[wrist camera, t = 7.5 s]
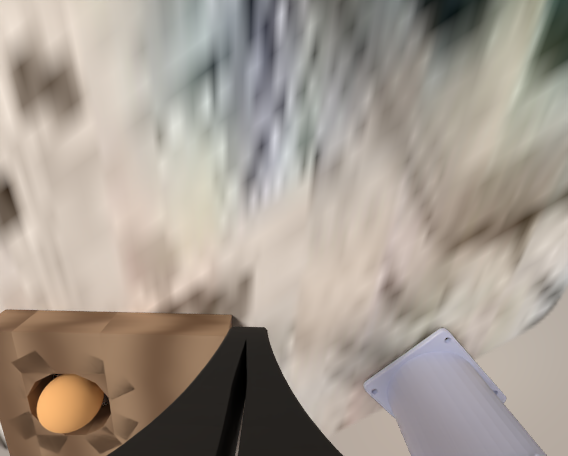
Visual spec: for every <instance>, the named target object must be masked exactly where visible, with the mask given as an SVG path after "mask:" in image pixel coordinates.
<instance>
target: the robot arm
mask: <svg viewBox="0 0 568 456" xmlns="http://www.w3.org/2000/svg"><path fill="white" fill-rule="evenodd" d="M446 338H448V339H447V340H445V339H446ZM364 389H365V391H366V392H367V393H368V394H369V395H370V396H372V397H373V398H374V399H375V400H376V401H377V402H378V403H379V404H380V405H381V406H382V407H383V408H384V409H385V410H386V411H388V413H390V414H391V415H392V416H393V417H394V418H395V419H396V421H397V423H398V426H399V428H400V430H401V433H402V435H403V437H404V440H405V442H406V444H407V446H408V449H409V452H410V454H411V456H547V455H546V454H545V453H544V452H543V450H542V449H541V448H540V447H539V446H538V444H537V443H536V442H535V441H534V440H533V439H532V437H531V436H530V435H529V434H528V432H527V431H526V430H525V429H524V428H523V427H522V425H521V424H520V423H519V422H518V420H517V419H516V418H515V417H514V416H513V414H512V413H511V412H510V411H509V410H508V409H507V407H506V406H505V405H504V404H503V403H504V402H505V401H506V396H505V395H504V394H503V393H502V392H501V391H500V389H499V388H498V387H497V386H496V385H495V384H494V382H493V381H492V380H491V379H490V378H489V377H488V376H487V374H486V373H485V372H484V371H483V370H482V369H481V368H480V366H479V365H478V364H477V363H476V362H475V361H474V360H473V358H472V357H471V356H470V355H469V354H468V353H467V352H466V350H465V349H464V348H463V347H462V346H461V345H460V344H459V342H458V341H457V340H456V339H455V338H454V337H453V336H452V334H451V333H450V332H449V331H448V330H447V329H446V328H440V329H438V330H437V331H436V332H434V333H433V334H431V335H430V336H429V337H427V338H426V339H424V340H423V341H422V342H420V343H419V344H417V345H416V346H415V347H413V348H412V349H410V350H409V351H407V352H406V353H405V354H403V355H402V356H400V357H399V358H398V359H396V360H395V361H393V362H392V363H391V364H389V365H388V366H386V367H385V368H384V369H382V370H381V371H379V372H378V373H377V374H375V375H374V376H372V377H371V378H370V379H368V380H367V381H366V382H365V383H364ZM373 389H375V390H373ZM244 403H245V407H244ZM243 408H244V415H243V423H242V430H241V437H240V444H239V452H238V456H343V455H342V454H341V453H340V452H339V451H338V450H337V449H336V448H335V447H334V446H333V445H332V444H331V442H330V441H329V440H328V439H327V438H326V437H325V436H324V434H323V433H322V432H321V431H320V429H319V428H318V427H317V426H316V425H315V423H314V422H313V421H312V420H311V418H310V417H309V416H308V414H307V413H306V412H305V410H304V409H303V407H302V406H301V405H300V403H299V401H298V400H297V398H296V397H295V395H294V394H293V392H292V390H291V389H290V387H289V385H288V383H287V381H286V380H285V378H284V376H283V374H282V372H281V370H280V368H279V365H278V363H277V361H276V359H275V356H274V354H273V351H272V348H271V345H270V342H269V338H268V333H267V330H266V328H264V327H231V328H230V329H229V331H228V333H227V335H226V336H225V338H224V340H223V341H222V343H221V344H220V346H219V348H218V349H217V351H216V352H215V353H214V355H213V356H212V357H211V359H210V360H209V362H208V363H207V364H206V366H205V367H204V368H203V369H202V371H201V372H200V373H199V374H198V375H197V377H196V378H195V379H194V380H193V382H192V383H191V384H190V385H189V386H188V387H187V388H186V389H185V390H184V391H183V393H182V394H181V395H180V396H179V397H178V398H177V399H176V400H175V401H174V402H173V403H172V404H171V405H169V406H168V407H167V408H166V409H165V410H164V411H163V412H162V413H161V414H160V415H159V416H158V417H156V418H155V419H154V420H153V421H152V422H151V423H149V424H148V425H147V426H146V427H145V428H143V429H142V430H141V431H139V432H138V433H137V434H136V435H134V436H133V437H132V438H130V439H129V440H128V441H127V442H125V443H124V444H123V445H121V446H120V447H118V448H117V449H116V450H114V451H113V452H111V453H110V454H108V455H107V456H235V452H236V446H237V441H238V436H239V430H240V425H241V419H242V414H243Z"/></svg>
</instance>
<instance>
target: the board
mask: <svg viewBox="0 0 568 456" xmlns="http://www.w3.org/2000/svg"><path fill="white" fill-rule="evenodd" d="M231 327H232V315H214V314H171V313H127V312H84V311H41V310H5V311H3V312H2V313H0V422H1V425H2V429H3V432H4V436H5V439H6V443H7V446H8V450H9V453H10V456H107V455H108V454H110V453H111V452H113V451H114V450H116V449H117V448H118V447H120V446H121V445H123V444H124V443H125V442H127V441H128V440H129V439H130V438H132V437H133V436H134V435H136V434H137V433H138V432H139V431H141V430H142V429H143V428H145V427H146V426H147V425H148V424H149V423H151V422H152V421H153V420H154V419H155V418H156V417H158V416H159V415H160V414H161V413H162V412H163V411H164V410H165V409H166V408H167V407H168V406H169V405H171V404H172V403H173V402H174V401H175V400H176V399H177V398H178V397H179V396H180V395H181V394H182V393H183V391H184V390H185V389H186V388H187V387H188V386H189V385H190V384H191V383H192V382H193V380H194V379H195V378H196V377H197V375H198V374H199V373H200V372H201V371H202V369H203V368H204V367H205V366H206V364H207V363H208V362H209V360H210V359H211V357H212V356H213V355H214V353H215V352H216V351H217V349H218V348H219V346H220V344H221V343H222V341H223V340H224V338H225V336H226V335H227V333H228V331H229V329H230V328H231ZM52 374H76V375H78V376H81V377H83V378H85V379H88V380H90V381H92V382H95V383H96V384H97V385H98V386H99V387H100V388H101V390H102V391H103V392H104V393H105V394H106V395H107V396H108V397H109V402H110V404H108V405H105V406H101V408H100V410H99V411H98V413H97V414H96V416H95V417H94V418H93V419H92V420H91V421H90V422H89V423H88V424H86V425H85V426H83V427H82V428H80V429H78V430H76V431H73V432H69V433H54V432H51V431H49V430H47V429H46V428H44V427H43V426H42V425H41V423H40V422H39V419H38V417H37V403H38V400H39V397H40V395H41V393H42V391H43V390H44V389H45V387H46V386H47V385H48V384H49V383H50V382H51V381H52V380H53V377H52Z"/></svg>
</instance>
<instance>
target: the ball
mask: <svg viewBox="0 0 568 456" xmlns="http://www.w3.org/2000/svg"><path fill="white" fill-rule="evenodd" d="M103 398H104V392H103V391H102V390H101V388H100V387H99V386H98V385H97V384H96V383H95V382H92V381H90V380H88V379H85V378H83V377H81V376H78V375H76V374H61V375H59V376H57V377H56V378H55V379H53V380H52V381H51V382H50V383H49V384H48V385H47V386H46V387H45V389H44V390H43V391H42V393H41V395H40V397H39V400H38V403H37V417H38V419H39V422H40V423H41V425H42V426H43V427H44V428H46V429H47V430H49V431H51V432H54V433H69V432H73V431H76V430H78V429H80V428H82V427H83V426H85V425H86V424H88V423H89V422H90V421H91V420H92V419H93V418H94V417H95V416H96V414H97V413H98V411H99V410H100V408H101V405H102V403H103Z"/></svg>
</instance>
